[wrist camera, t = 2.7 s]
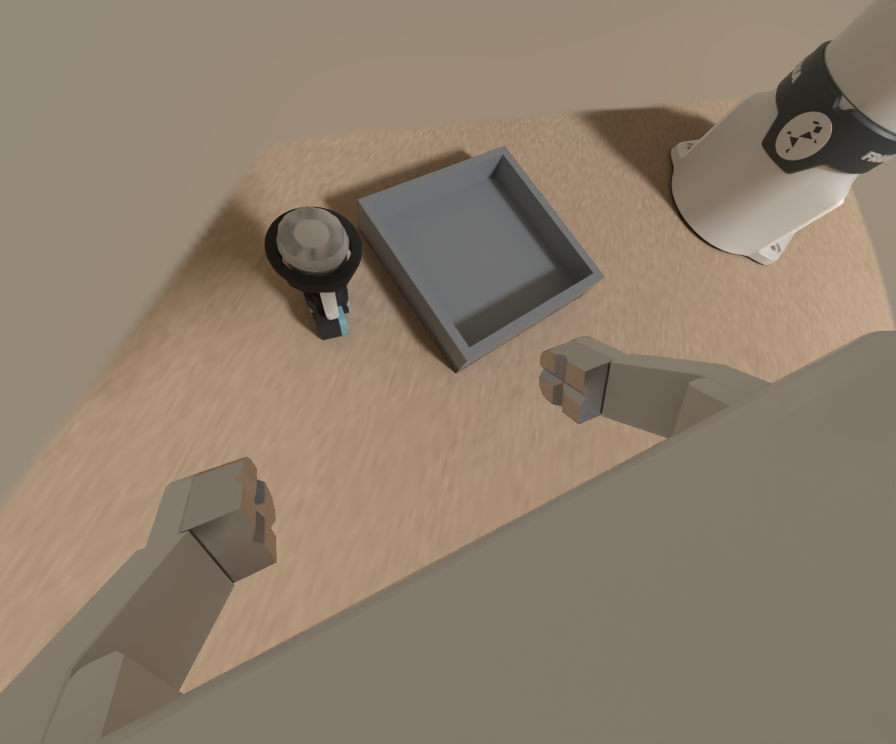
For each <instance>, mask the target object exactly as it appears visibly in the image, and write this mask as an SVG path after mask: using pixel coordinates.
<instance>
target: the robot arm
mask: <svg viewBox="0 0 896 744" xmlns="http://www.w3.org/2000/svg"><path fill="white" fill-rule="evenodd" d="M895 156H896V0H875V1H874V2H873V3H872V4H871V5H870V6H868V7H867V8H866V9H865V10H864V11H863V12H862V13H861V14H860V15H859V16H858V17H857V18H856V19H855V20H854V21H853V22H852V23H851V24H850V25H848V27H846V28H845V29H844V30H843V31H842V32H841V33H840V34H839V35H838V36H837V37H836V38H834V39H833V40H831V41H827V42H824V43H823V44H822V45H820V46H819V47H818V48H817V49H816V50H815V51H814V52H813V53H811V54H810V55H808V56H807V57H806V58H804V59H803V60H802V61H801V62H800V63H799V64H798V65H797V66H796V67H795V69H794V70H793V71H792V72H791V73H790V74H789V75H788V76H787V77H785V78H784V79H783V80H782V81H781V82H780V84H779V85H778V87H777V89H774V90H772V91H769V92H766V93H758V94H755V95H753V96H750V95H749V96H747V97H745V98H744V99H742V100H741V101H740V102H739V103H738V104H737V105H736V106H735V107H734V108H733V109H732V110H730V111H729V112H728V113H727V114H726V115H725V116H724V117H723V118H722V119H721V120H720V121H719V122H718V123H717V124H716V125H714V126H713V127H712V128H711V129H710V130H709V131H708V132H707V133H706V134H705V135H704V136H703V137H702V138H701V139H697V140H692V141H686V142H680V143H678V144H677V145H676V146H675V147H674V148H673V149H672V150H671V158H672V162H673V166H674V172H673V177H672V192H673V196H674V199H675V202H676V204H677V207H678V209H679V211H680V212H681V214H682V216H683V217H684V219H685V220H686V221H687V223H688V224H689V225H690V226H691V227H692V229H693V230H694V231H695V232H696V233H697V234H699V235H700V236H701V237H702V238H703V239H705V240H706V241H707V242H709V243H710V244H712V245H714V246H715V247H717V248H719V249H721V250H724V251H726V252H730V253H734V254H740V255H745V256H748V257H750V258H752V259H754V260H755V261H757V262H759V263H761V264H764V265H769V264H771V263H772V262H774V261H775V260H777V259H778V258H779V256H780V255H781V253H782V252H783V250H784V249H785V247H786V246H787V244H788V243H789V241H790V239H791V238H792V236H793V235H794V233H795V232H796V231H798V230H799V229H801V228H803V227H804V226H806V225H808V224H810V223H811V222H813V221H815V220H816V219H818V218H820V217H821V216H823V215H825V214H826V213H828V212H830V211H831V210H833V209H835V208H836V207H838V206H839V205H841V204H842V203H843V202H844V197H845V196H846V195H847V194H848V193H849V190H850V187H851V185H852V183H853V181H854V180H855V179H856V177H857V176H858V175H859V174H862V173H866V172H868V171H870V170H871V169H873V168H875V167H876V166H878V165H880V164H881V163H883V162H885V161H888V160H890V159H892V158H893V157H895ZM540 365H541V366H542V367H543V371H542V373H541V375H540V377H539V386H540V389H541V391H542V394H543V395H544V397H545V398H546V399H547V400H548V401H549V402H550V403H551V404H554V405H558V406H561V407H562V412H563V413H564V414H566V415H567V416H568V417H570V418H571V419H572V420H574V421H575V422H576V423H577V424H581V423H583V422H585V421H588V420H590V419H592V418H595V417H597V416H600V415H602V416H603V417H606V418H609V419H612V420H615V421H618V422H621V423H624V424H627V425H630V426H633V427H636V428H639V429H642V430H645V431H648V432H651V433H654V434H657V435H660V436H663V437H666V438H668V439H666V440H664V441H662V442H660V443H658V444H656V445H654V446H652V447H651V448H649V449H647V450H645V451H643V452H641V453H639V454H637V455H635V456H634V457H632V458H630V459H628V460H626V461H624V462H622V463H620V464H618V465H617V466H615V467H613V468H611V469H609V470H607V471H605V472H603V473H601V474H600V475H598V476H596V477H594V478H592V479H590V480H588V481H586V482H585V483H583V484H581V485H579V486H577V487H575V488H573V489H571V490H569V491H568V492H566V493H564V494H562V495H560V496H558V497H556V498H554V499H552V500H550V501H549V502H547V503H545V504H543V505H541V506H539V507H537V508H535V509H533V510H532V511H530V512H528V513H526V514H524V515H522V516H520V517H518V518H516V519H514V520H513V521H511V522H509V523H507V524H505V525H503V526H501V527H499V528H497V529H496V530H494V531H492V532H490V533H488V534H486V535H484V536H482V537H480V538H478V539H477V540H475V541H473V542H471V543H469V544H467V545H465V546H463V547H461V548H460V549H458V550H456V551H454V552H452V553H450V554H448V555H446V556H444V557H442V558H441V559H439V560H437V561H435V562H433V563H431V564H429V565H427V566H425V567H424V568H422V569H420V570H418V571H416V572H414V573H412V574H410V575H408V576H407V577H405V578H403V579H401V580H399V581H397V582H395V583H393V584H391V585H390V586H388V587H386V588H384V589H382V590H380V591H378V592H376V593H374V594H372V595H371V596H369V597H367V598H365V599H363V600H361V601H359V602H357V603H355V604H354V605H352V606H350V607H348V608H346V609H344V610H342V611H340V612H338V613H337V614H335V615H333V616H331V617H329V618H327V619H325V620H323V621H321V622H320V623H318V624H316V625H314V626H312V627H310V628H308V629H306V630H304V631H302V632H301V633H299V634H297V635H295V636H293V637H291V638H289V639H287V640H285V641H284V642H282V643H280V644H278V645H276V646H274V647H272V648H270V649H268V650H267V651H265V652H263V653H261V654H259V655H257V656H255V657H253V658H251V659H250V660H248V661H246V662H244V663H242V664H240V665H238V666H236V667H234V668H233V669H231V670H229V671H227V672H225V673H223V674H221V675H219V676H217V677H215V678H214V679H212V680H210V681H208V682H206V683H204V684H202V685H200V686H198V687H197V688H195V689H193V690H191V691H189V692H187V693H185V694H182V693H181V692H179V690H180V688H181V686H182V684H183V682H184V680H185V678H186V676H187V674H188V673H189V671H190V669H191V667H192V665H193V663H194V661H195V659H196V657H197V655H198V654H199V652H200V650H201V648H202V646H203V644H204V642H205V640H206V638H207V636H208V635H209V633H210V631H211V629H212V627H213V625H214V623H215V621H216V619H217V617H218V616H219V614H220V612H221V610H222V608H223V606H224V604H225V602H226V600H227V598H228V597H229V595H230V593H231V591H232V589H233V587H234V584H233V583H235V582H237V581H239V580H241V579H243V578H245V577H247V576H249V575H251V574H253V573H256V572H258V571H260V570H262V569H264V568H266V567H268V566H270V565H272V564H274V563H276V562H277V558H276V536H275V534H274V532H273V531H272V529H271V527H272V525H273V523H274V522H275V508H274V504H273V500H272V496H271V494H270V492H269V489H268V487H267V486H266V484H265V482H263V481H260V480H257V468H256V467H255V465H254V464H253V462H252V460H251V459H250V458H248V457H244V458H241V459H238V460H235V461H232V462H229V463H226V464H223V465H221V466H218V467H215V468H212V469H209V470H206V471H203V472H200V473H197V474H194V475H191V476H188V477H185V478H183V479H180V480H177V481H174V482H171V483H170V484H169V485H168V486H166V488H165V491H164V494H163V497H162V500H161V503H160V506H159V509H158V512H157V515H156V518H155V521H154V524H153V527H152V530H151V533H150V536H149V539H148V542H147V545H146V548H143V549H141V550H138V551H136V552H135V553H134V554H133V555H132V556H131V557H130V559H129V560H128V561H127V562H126V563H125V564H124V565H123V566H122V567H121V568H120V569H119V570H118V571H117V572H116V573H115V574H114V575H113V576H112V577H111V578H110V579H109V580H108V582H107V583H106V584H105V585H104V586H103V587H102V588H101V589H100V590H99V591H98V592H97V593H96V594H95V595H94V596H93V597H92V598H91V599H90V600H89V601H88V602H87V603H86V605H85V606H84V607H83V608H82V609H81V610H80V611H79V612H78V613H77V614H76V615H75V616H74V617H73V618H72V619H71V620H70V621H69V622H68V623H67V624H66V625H65V626H64V628H63V629H62V630H61V631H60V632H59V633H58V634H57V635H56V636H55V637H54V638H53V639H52V640H51V641H50V642H49V643H48V644H47V645H46V646H45V647H44V648H43V649H42V650H41V652H40V653H39V654H38V655H37V656H36V657H35V658H34V659H33V660H32V661H31V662H30V663H29V664H28V665H27V666H26V667H25V668H24V669H23V670H22V671H21V672H20V673H19V675H18V676H17V677H16V678H15V679H14V680H13V681H12V682H11V683H10V684H9V685H8V686H7V687H6V688H5V689H4V690H3V691H2V692H1V693H0V744H896V331H877V332H871V333H868V334H865V335H863V336H861V337H858V338H856V339H854V340H853V341H851V342H849V343H847V344H845V345H843V346H841V347H840V348H838V349H836V350H834V351H832V352H830V353H828V354H826V355H825V356H823V357H821V358H819V359H817V360H815V361H813V362H811V363H810V364H808V365H806V366H804V367H802V368H800V369H798V370H796V371H794V372H793V373H791V374H789V375H787V376H785V377H783V378H781V379H779V380H777V381H776V382H774V383H769V382H766V381H764V380H761V379H759V378H756V377H754V376H751V375H749V374H746V373H744V372H741V371H739V370H736V369H734V368H731V367H729V366H726V365H722V364H714V363H706V362H698V361H689V360H681V359H673V358H665V357H657V356H648V355H640V354H629V355H627V354H625V353H623V352H621V351H619V350H617V349H614V348H612V347H610V346H608V345H606V344H604V343H602V342H600V341H597V340H595V339H593V338H591V337H589V336H582V337H579V338H576V339H574V340H571V341H569V342H567V343H565V344H562V345H559V346H557V347H554V348H551V349H548V350H546V351H543V352H542V354H541V357H540Z"/></svg>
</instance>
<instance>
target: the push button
mask: <svg viewBox="0 0 896 744" xmlns="http://www.w3.org/2000/svg"><path fill="white" fill-rule="evenodd" d="M349 249H350V251H351V255H350V258H349V260H348V261H347V253H348V250H349ZM265 251H266V255H267V258H268V260H269V262H270V264H271V266H272V267H273V269H274V270H275V271H276V272H277V273H278V274H279V275H280V276H281V277H282V278H284V279H285V280H287V282H288V283H289V285H290V286H292V287H294V288H296V289H298V290H300V291H302V292H304V296H305V299H306V301H307V304H308V306H309V308H310V312H311V315H312V318H313V320H314V317H313V313H314V314H315V318H316V321H317V325H318V328H319V331H320V334H321V337H322V340H325V339H330V338H334V337H339V336H343V335H347V334H349V332H348V329H347V323H346V319H345V315H344V313H349V312H350V305H349V302H348V291H347V286H346V285H347V284H348V283H349V281H350V279H351V278H352V276H353V274H354V273H355V271H356V270H357V268H358V266H359V264H360V261H361V256H362V245H361V239H360V237H359V234H358V232H357V230H356V229H355V227H354V226H353V225H352V224H351V223H350V222H349V221H348V220H347V219H346V218H345V217H343V216H342V215H340V214H338V213H336V212H334V211H331V210H329V209H325V208H320V207H301V208H296V209H293V210H290V211H288V212H286V213H284V214H282V215H281V216H279V217H278V218H277V219H276V220H275V221H274V222H273V223H272V224H271V226H270V227H269V229H268V231H267V233H266V237H265ZM282 256H283V258H284V259H285V260H286V261H287V263H288V265H289V268H288V267H287V266H286V265H285V264H284V263H283V262H282Z"/></svg>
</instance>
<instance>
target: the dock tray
mask: <svg viewBox="0 0 896 744" xmlns="http://www.w3.org/2000/svg"><path fill="white" fill-rule="evenodd" d="M357 204H358V226H359V230H360V231H361V233H362V234H363V236H364V237H365V239H366V240H367V242H368V243H369V245H370V246H371V248H372V249H373V251H374V252H375V254H376V255H377V257H378V258H379V259H380V261H381V262H382V264H383V265H384V267H385V268H386V270H387V271H388V273H389V274H390V276H391V277H392V279H393V280H394V282H395V283H396V285H397V286H398V288H399V289H400V291H401V292H402V294H403V295H404V297H405V298H406V300H407V301H408V303H409V304H410V306H411V307H412V309H413V310H414V312H415V313H416V315H417V316H418V317H419V319H420V320H421V322H422V323H423V325H424V326H425V328H426V329H427V331H428V332H429V334H430V335H431V337H432V338H433V340H434V341H435V343H436V344H437V346H438V347H439V349H440V350H441V352H442V353H443V355H444V356H445V358H446V359H447V361H448V362H449V364H450V365H451V367H452V368H453V370H454V371H455V373H458V372H459V371H461V370H463V369H464V368H466V367H467V366H469V365H471V364H472V363H474V362H476V361H477V360H479V359H480V358H482V357H484V356H485V355H487V354H488V353H490V352H492V351H493V350H495V349H496V348H498V347H500V346H501V345H503V344H505V343H506V342H508V341H509V340H511V339H513V338H514V337H516V336H517V335H519V334H521V333H522V332H524V331H525V330H527V329H529V328H530V327H532V326H534V325H535V324H537V323H538V322H540V321H542V320H543V319H545V318H546V317H548V316H550V315H551V314H553V313H554V312H556V311H558V310H559V309H561V308H563V307H564V306H566V305H567V304H569V303H571V302H572V301H574V300H575V299H577V298H579V297H580V296H582V295H583V294H584V293H586V292H587V291H588V290H589V289H590V288H592V287H593V286H594V285H595V284H596V283H598V282H599V281H600V280H601V279H602V278H604V275H603V274H602V273H601V271H600V270H599V269H598V267H597V266H596V265H595V264H594V262H593V261H592V260H591V258H590V257H589V256H588V254H587V253H586V252H585V250H584V249H583V248H582V246H581V245H580V244H579V243H578V241H577V240H576V239H575V237H574V236H573V235H572V233H571V232H570V231H569V229H568V228H567V227H566V225H565V224H564V223H563V222H562V220H561V219H560V218H559V216H558V215H557V214H556V212H555V211H554V210H553V208H552V207H551V206H550V205H549V203H548V202H547V201H546V199H545V198H544V197H543V195H542V194H541V193H540V191H539V190H538V189H537V187H536V186H535V185H534V184H533V182H532V181H531V180H530V178H529V177H528V176H527V174H526V173H525V172H524V170H523V169H522V168H521V166H520V165H519V164H518V163H517V161H516V160H515V159H514V157H513V156H512V155H511V153H510V152H509V151H508V149H507V148H506V147H505V146H503V147H500V148H497V149H494V150H492V151H489V152H486V153H483V154H481V155H478V156H475V157H473V158H470V159H467V160H464V161H462V162H459V163H456V164H453V165H451V166H448V167H445V168H442V169H440V170H437V171H434V172H432V173H429V174H426V175H423V176H421V177H418V178H415V179H412V180H410V181H407V182H404V183H402V184H399V185H396V186H393V187H391V188H388V189H385V190H382V191H380V192H377V193H374V194H371V195H369V196H366V197H363V198H361V199H358V200H357Z"/></svg>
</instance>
